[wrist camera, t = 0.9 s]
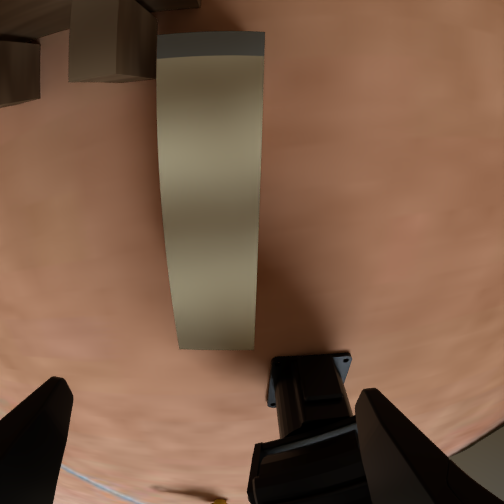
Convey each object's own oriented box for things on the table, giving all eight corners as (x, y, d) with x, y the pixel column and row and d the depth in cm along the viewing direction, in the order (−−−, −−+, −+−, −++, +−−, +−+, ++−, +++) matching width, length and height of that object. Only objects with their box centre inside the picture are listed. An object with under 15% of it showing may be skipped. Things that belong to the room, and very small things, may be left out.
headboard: (198, 76, 15) (164, 62, 8) (-7, 111, 14) (-95, 139, 7) (201, -16, 12) (175, -86, 5) (-6, 35, 11) (-93, 36, 4)
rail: (250, 296, 21) (254, 349, 17) (189, 295, 21) (179, 349, 17) (257, 49, 14) (264, 32, 10) (179, 50, 14) (157, 35, 10)
